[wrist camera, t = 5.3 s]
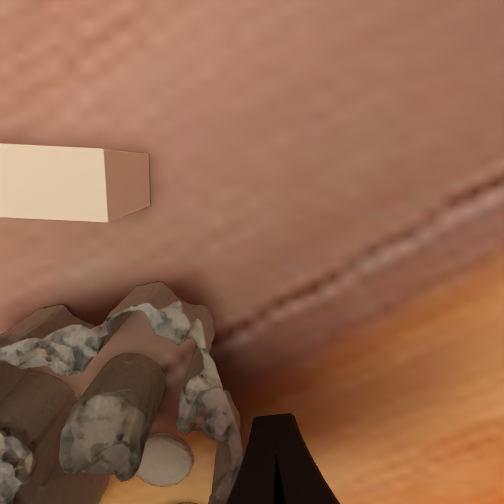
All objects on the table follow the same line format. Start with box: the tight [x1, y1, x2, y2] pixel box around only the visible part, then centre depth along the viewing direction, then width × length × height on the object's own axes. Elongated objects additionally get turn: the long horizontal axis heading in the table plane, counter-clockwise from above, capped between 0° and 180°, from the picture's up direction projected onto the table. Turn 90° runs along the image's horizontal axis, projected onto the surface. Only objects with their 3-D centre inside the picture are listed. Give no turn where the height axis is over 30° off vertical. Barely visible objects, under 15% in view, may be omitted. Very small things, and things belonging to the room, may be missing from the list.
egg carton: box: [0, 282, 243, 504], centre depth 10 cm, size 11×8×4 cm
